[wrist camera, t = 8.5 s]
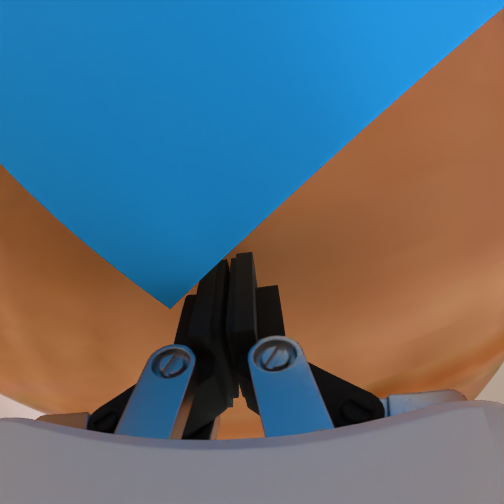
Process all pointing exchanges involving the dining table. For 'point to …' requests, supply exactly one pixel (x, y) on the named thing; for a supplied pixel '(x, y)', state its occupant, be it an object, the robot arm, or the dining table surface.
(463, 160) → the dining table surface
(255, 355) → the robot arm
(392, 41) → the book
